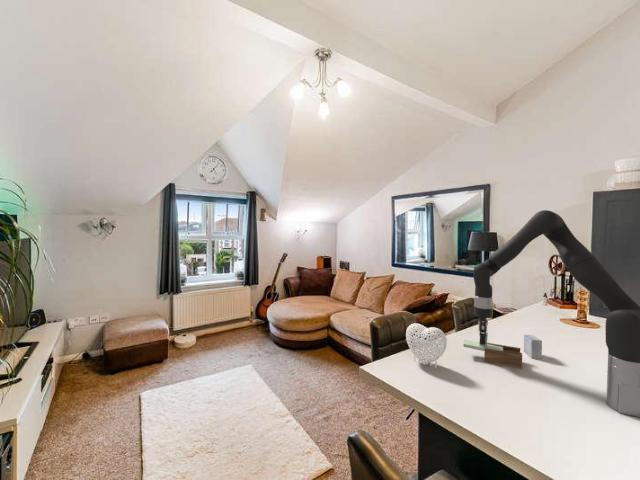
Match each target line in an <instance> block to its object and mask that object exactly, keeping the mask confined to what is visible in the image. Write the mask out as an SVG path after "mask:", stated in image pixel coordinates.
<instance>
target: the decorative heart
mask: <svg viewBox="0 0 640 480" xmlns="http://www.w3.org/2000/svg"><path fill="white" fill-rule="evenodd" d="M405 338H406V339H405V340H406V342H407V345H408V347H409V349H410V351H411V353H412V354H413V362H416V359H417V360H418V361H417V362H418V363H421V364H423V365H424V366H426V365H427V366H428V365H429V364H430V365H429V366H430V367H432V365H433V364H432V363H433V362H435V363H434V364H435V368H436V369H437V367H438V361H437V360H438V359H440V358H441V357H442V356H443V355H444V353H445V351H446V349H447V345H448V344H447V343H448V340H447V337H446V334H445V332H443V330H441V329H440V328H437V327H434V326H433V327H432V326H431V327H427V326H424V324H420V323H418V322H417V323H416V322H414V323H411V324H410V325H409V326H407V328H406V332H405Z"/></svg>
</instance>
